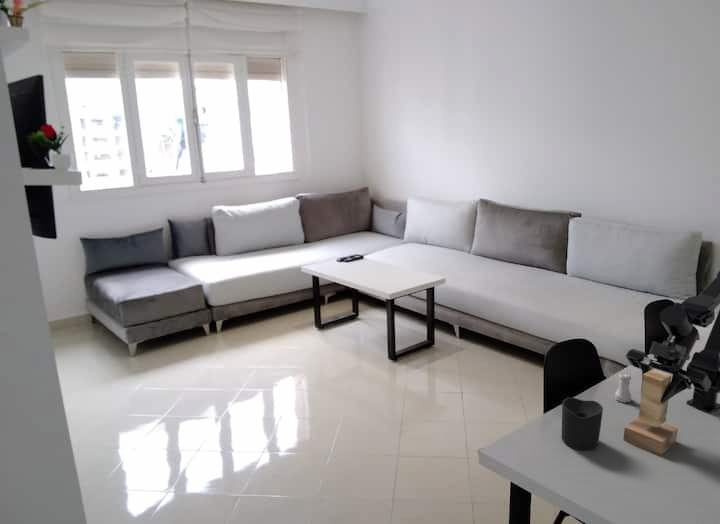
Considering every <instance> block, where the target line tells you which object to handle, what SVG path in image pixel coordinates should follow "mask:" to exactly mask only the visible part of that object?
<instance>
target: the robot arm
mask: <svg viewBox="0 0 720 524" xmlns="http://www.w3.org/2000/svg"><path fill="white" fill-rule="evenodd" d="M719 305H720V270H719V271H718V272H717V274H716V277H715V278H714V279H713V280H712V281H711V282H710V283H709V284H708V285H707V286H706V287H705V288H704V289H703V290H702V291H701V292H700V293H699V294H698V295H694V296H690V297H688V298H686V299H685V300H683V301H682V302H681V303H680V302H674V305H670V306H666V307H665V308H664V309H662V310H661V311H660V314H659V319H660V322H661V323H662V325H663V326H664V328H665V329H666V331H667V333H668V334H669V336H668V337H667V340H664V341H662V343H659V342H657V341H652V343H651V345H650V350H649V355H653V358H654V359H656V360H654V359H651V358H650V357H649V356H648V354H647V353H646V352H644V351H640V350H639V349H638V350H637V349H635V348H632V349H629V350H628V351H627V352H626V354H625V358H626V360H628V362H629V364H630V365H631V366H633V367H634V368H636V369H640V370H641V375H642V376H641V377H642V378H641V382H642V381H643V374H645V373H646V372H648V371H650V370H652V369H654V370H657V371H660V372H663V373H666V374H669V375H671V382H670V384H669V386H668V388H667V389H666V391H665V393H664V394H663V396H662V399H661V402H662V403H664V402H666V401H667V400H668V401H669V400H670V399H672V398H673V397H674V396H675V395H677V394H679V393H681V392H683V391H685V390H687V389H688V390H691V389H692V385H693V394H692V398H691V399H689V400H686V404H687V405H690V406H692V407H694V408H697V409H699V410H702V411H704V412H706V413H712V412H714V411H716V410H718V409H720V403H719V402H718V396H719V395H718V394H720V309H719V310H718V313H717V315H716V312H715V310H716V308H717V307H719ZM715 315H716V316H715ZM713 322H714V323H713ZM712 324H713V325H712ZM710 325H712V328H711V330H710V332H709V335H708V337H707V340H706V343H705V345H704V348H703V349H702V350H700V351H696V352H694V353H693V354H692V357H691V356H690V354H691V352H692V350H693V348H694V346H695V345H696V342H697V341H700V333H699V329H697V328H696V327H701V328H707V327H709V326H710ZM690 359H691V360H690ZM689 360H690V362H689V363H688V364H687V366H686V370H685V369H683V367H684V366H685V364H686V362H687V361H689ZM640 388H641V389H640V392H641V391H642V386H641V387H640Z"/></svg>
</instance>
